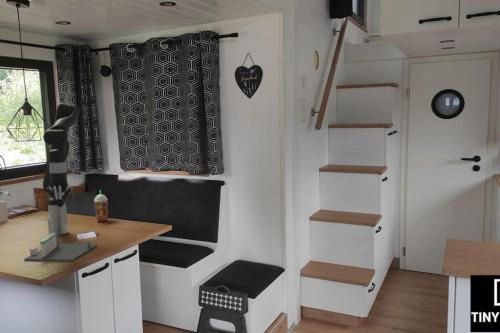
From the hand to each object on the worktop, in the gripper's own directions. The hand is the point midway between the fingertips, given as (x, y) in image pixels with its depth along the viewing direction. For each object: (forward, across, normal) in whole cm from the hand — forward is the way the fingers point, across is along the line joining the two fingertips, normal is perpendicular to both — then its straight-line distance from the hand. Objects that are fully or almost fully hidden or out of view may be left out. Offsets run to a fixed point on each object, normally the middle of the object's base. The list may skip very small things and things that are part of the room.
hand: (60, 206), depth 211 cm
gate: (+21, +5, +4) cm, 22 cm away
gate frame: (+23, -1, +3) cm, 23 cm away
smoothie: (+24, +2, -60) cm, 65 cm away
